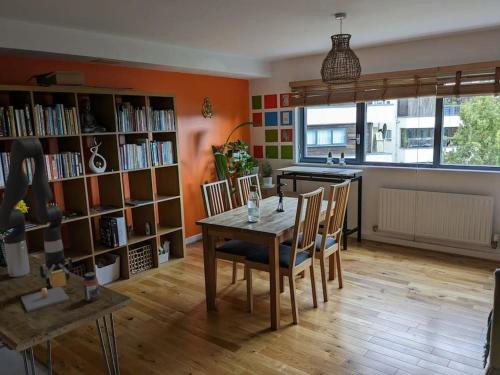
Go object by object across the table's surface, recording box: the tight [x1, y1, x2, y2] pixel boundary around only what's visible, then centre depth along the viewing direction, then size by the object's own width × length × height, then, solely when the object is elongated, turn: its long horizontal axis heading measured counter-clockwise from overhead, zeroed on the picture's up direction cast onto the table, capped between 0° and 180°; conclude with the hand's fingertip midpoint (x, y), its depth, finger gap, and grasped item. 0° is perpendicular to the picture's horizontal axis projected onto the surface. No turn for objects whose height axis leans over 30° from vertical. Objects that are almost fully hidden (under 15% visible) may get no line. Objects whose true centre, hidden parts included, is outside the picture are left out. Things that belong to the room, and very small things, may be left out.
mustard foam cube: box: [49, 269, 67, 289], centre depth 183 cm, size 6×6×6 cm
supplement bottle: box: [82, 271, 101, 302], centre depth 168 cm, size 6×6×11 cm
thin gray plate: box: [20, 286, 71, 313], centre depth 169 cm, size 16×16×5 cm
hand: (58, 282), depth 184 cm, fingers open, 7 cm apart
